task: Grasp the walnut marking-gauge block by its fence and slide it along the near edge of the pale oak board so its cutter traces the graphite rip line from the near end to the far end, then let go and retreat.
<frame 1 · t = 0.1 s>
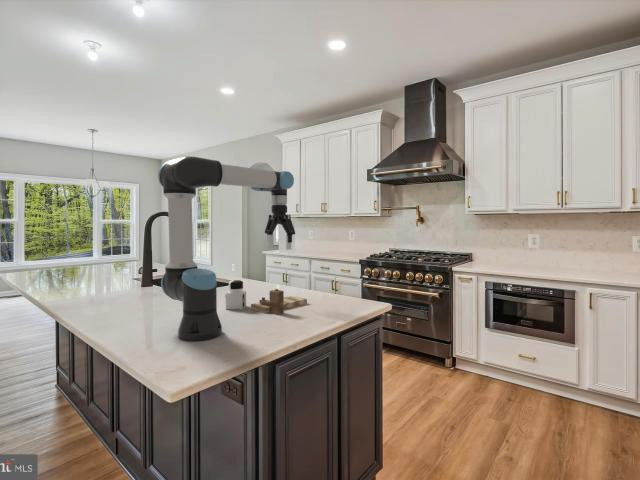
hand: (279, 248, 175), 28 cm above the countertop, fingers open, 13 cm apart
container: (236, 308, 172), on the countertop
board: (279, 306, 174), on the countertop
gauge: (276, 312, 162), on the countertop
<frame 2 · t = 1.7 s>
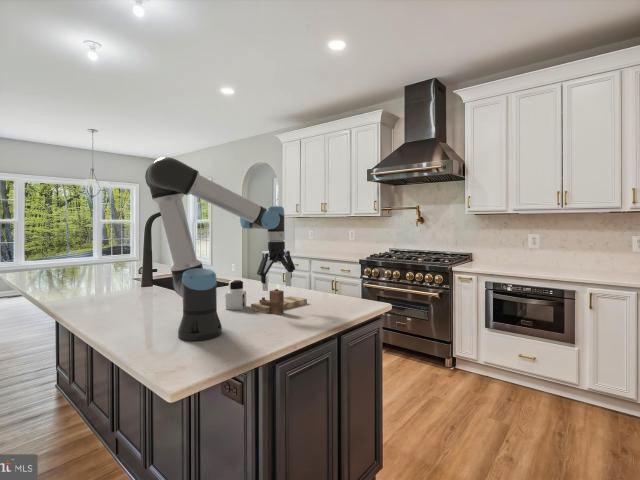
hand: (277, 288, 162), 11 cm above the countertop, fingers open, 13 cm apart
nothing on the countertop moved.
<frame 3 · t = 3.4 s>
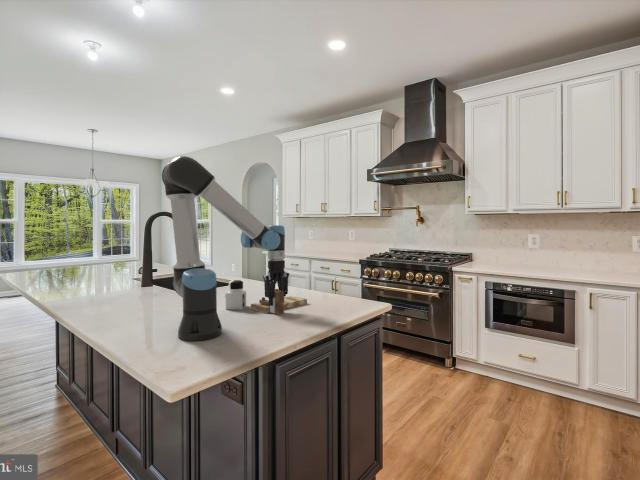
hand: (276, 311, 162), 1 cm above the countertop, fingers closed on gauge, 4 cm apart
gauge: (276, 312, 162), on the countertop, touching gripper
everything else where it was.
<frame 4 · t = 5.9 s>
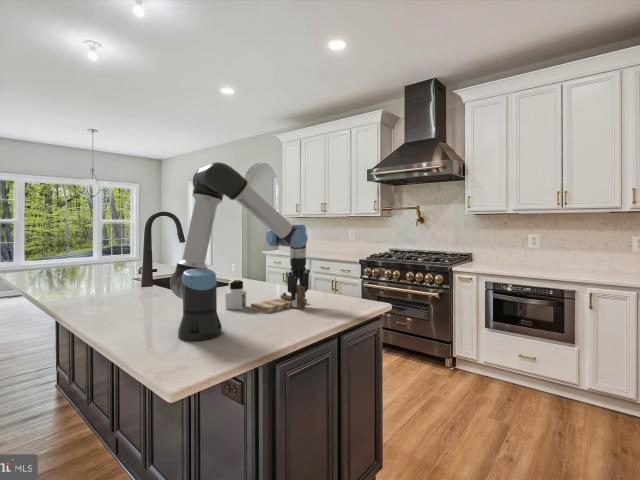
hand: (298, 305, 172), 1 cm above the countertop, fingers closed on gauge, 4 cm apart
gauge: (298, 307, 172), on the countertop, touching gripper
everything else where it was.
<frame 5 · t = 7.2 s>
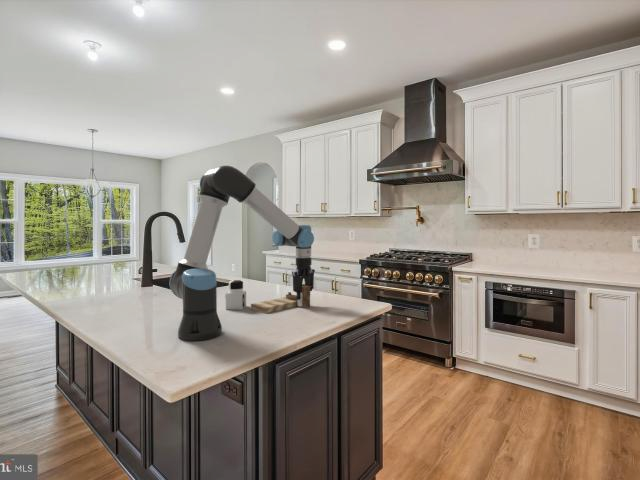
hand: (303, 305, 174), 1 cm above the countertop, fingers closed on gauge, 4 cm apart
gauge: (303, 306, 174), on the countertop, touching gripper
everything else where it was.
when the fingers open (1 cm above the countertop, at t = 7.8 s): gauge stays where it is, on the countertop.
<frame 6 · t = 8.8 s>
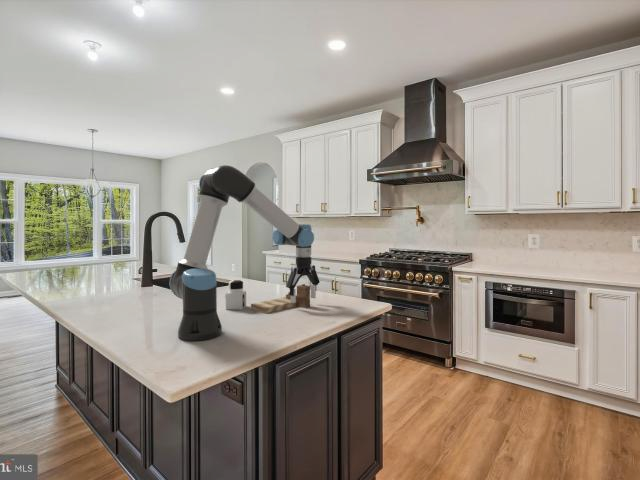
hand: (303, 300, 174), 3 cm above the countertop, fingers open, 13 cm apart
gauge: (303, 306, 174), on the countertop
everything else where it was.
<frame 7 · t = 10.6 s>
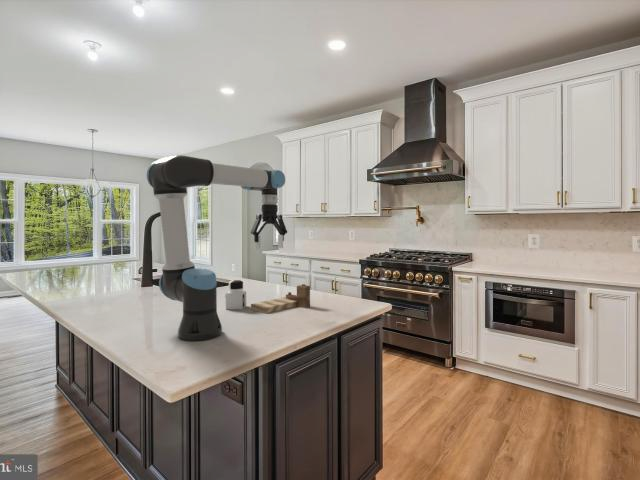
hand: (269, 248, 173), 28 cm above the countertop, fingers open, 13 cm apart
nothing on the countertop moved.
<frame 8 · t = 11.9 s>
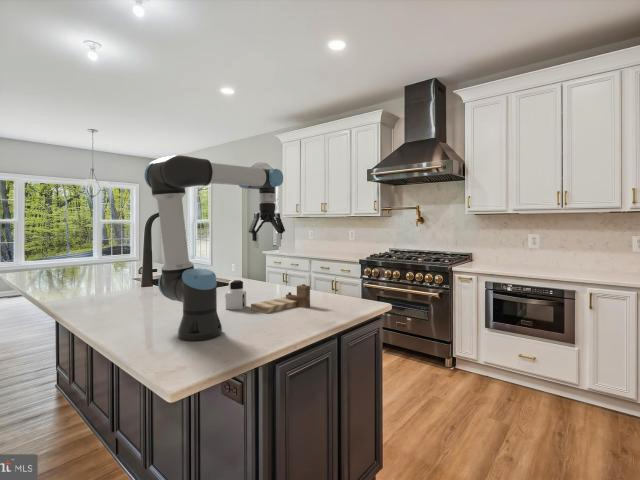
hand: (267, 247, 173), 29 cm above the countertop, fingers open, 13 cm apart
nothing on the countertop moved.
at the end: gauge inside the target area on the countertop beside the board (1.6 cm from its centre), on the countertop; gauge tilted 0°; the gripper is holding nothing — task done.
